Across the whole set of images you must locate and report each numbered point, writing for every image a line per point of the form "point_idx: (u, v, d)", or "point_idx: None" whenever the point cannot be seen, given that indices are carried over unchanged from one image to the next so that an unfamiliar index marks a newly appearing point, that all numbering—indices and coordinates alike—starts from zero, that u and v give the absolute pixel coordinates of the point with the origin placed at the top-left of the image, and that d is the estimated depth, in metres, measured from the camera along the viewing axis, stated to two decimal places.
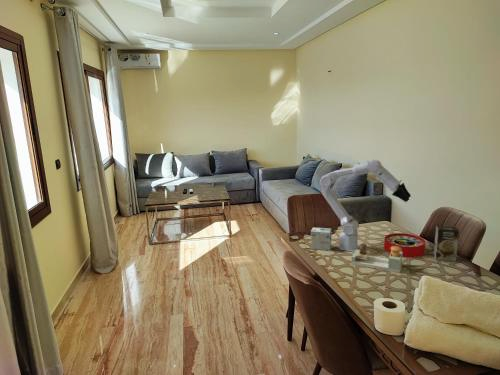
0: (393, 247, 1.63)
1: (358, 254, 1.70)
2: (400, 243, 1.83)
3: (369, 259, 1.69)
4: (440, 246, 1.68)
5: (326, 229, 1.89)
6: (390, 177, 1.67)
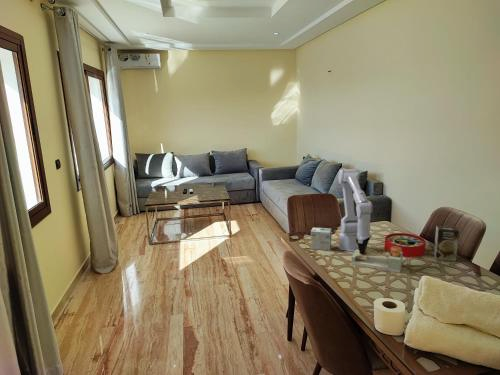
0: (393, 247, 1.63)
1: (358, 254, 1.70)
2: (400, 243, 1.83)
3: (369, 259, 1.69)
4: (440, 246, 1.68)
5: (326, 229, 1.89)
6: (366, 228, 1.65)
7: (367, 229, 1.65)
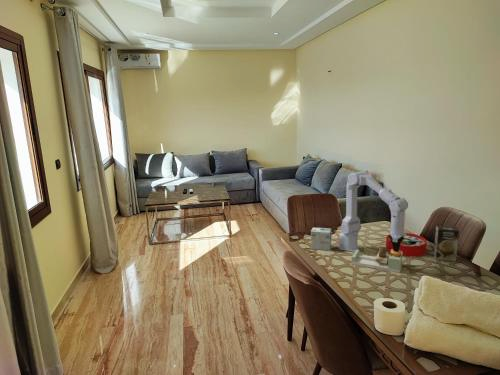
0: None
1: (378, 257, 1.65)
2: (402, 242, 1.84)
3: (369, 259, 1.69)
4: (440, 246, 1.68)
5: (326, 229, 1.89)
6: (401, 226, 1.57)
7: (401, 227, 1.57)
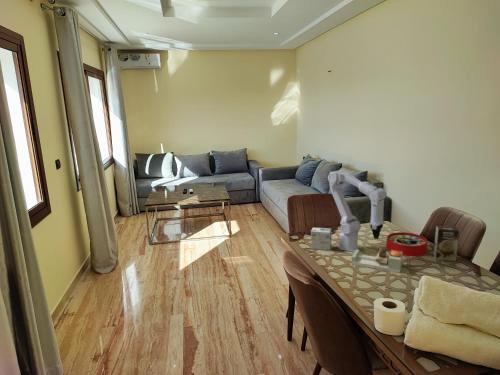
0: (393, 251, 1.64)
1: (378, 257, 1.65)
2: (402, 242, 1.84)
3: (369, 259, 1.69)
4: (440, 246, 1.68)
5: (326, 229, 1.89)
6: (380, 214, 1.68)
7: (381, 215, 1.69)
